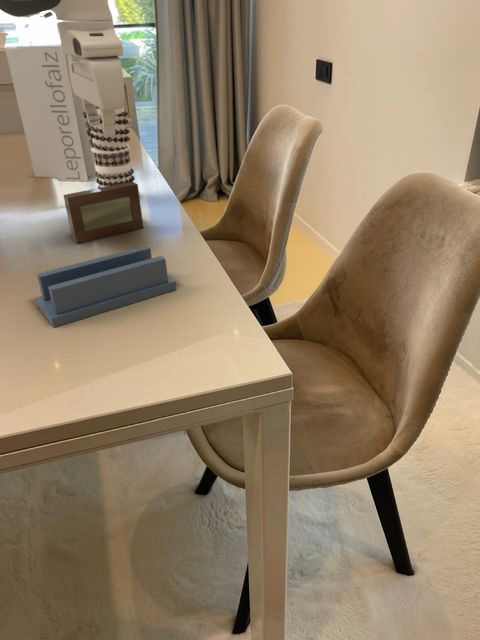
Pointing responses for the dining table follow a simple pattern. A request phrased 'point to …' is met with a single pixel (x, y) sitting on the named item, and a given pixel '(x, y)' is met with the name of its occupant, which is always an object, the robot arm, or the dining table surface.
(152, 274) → the holder
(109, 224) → the frame
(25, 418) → the dining table surface
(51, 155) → the white tall rectangular block
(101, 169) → the decorative candle
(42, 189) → the dining table surface
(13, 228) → the dining table surface
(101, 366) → the dining table surface
